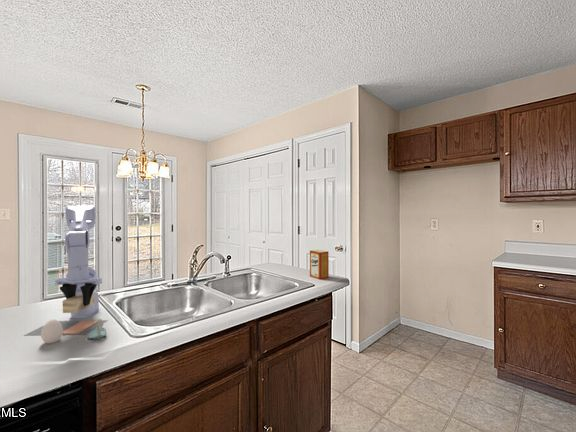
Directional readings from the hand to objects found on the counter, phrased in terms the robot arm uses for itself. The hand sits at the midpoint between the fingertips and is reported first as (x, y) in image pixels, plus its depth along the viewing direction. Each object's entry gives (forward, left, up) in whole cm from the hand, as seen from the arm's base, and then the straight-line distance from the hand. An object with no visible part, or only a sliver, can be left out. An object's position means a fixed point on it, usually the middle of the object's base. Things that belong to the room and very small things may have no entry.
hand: (79, 305), depth 100 cm
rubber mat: (0, -4, -8) cm, 9 cm away
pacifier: (+8, +10, -9) cm, 15 cm away
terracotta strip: (0, 0, -8) cm, 8 cm away
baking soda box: (-71, +92, -9) cm, 117 cm away
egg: (+10, -1, -9) cm, 14 cm away
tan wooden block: (0, 0, -1) cm, 1 cm away
